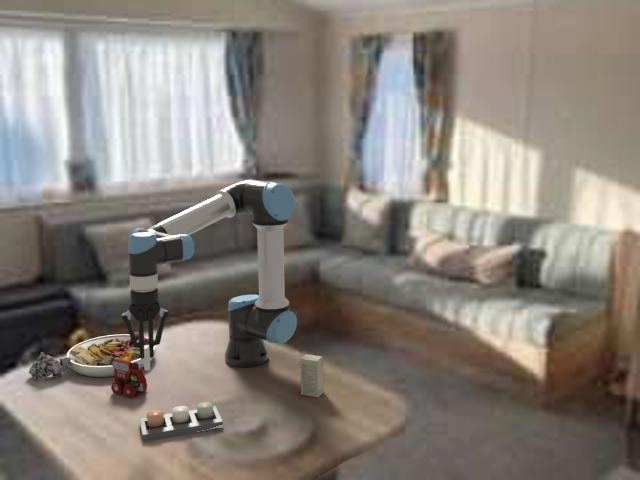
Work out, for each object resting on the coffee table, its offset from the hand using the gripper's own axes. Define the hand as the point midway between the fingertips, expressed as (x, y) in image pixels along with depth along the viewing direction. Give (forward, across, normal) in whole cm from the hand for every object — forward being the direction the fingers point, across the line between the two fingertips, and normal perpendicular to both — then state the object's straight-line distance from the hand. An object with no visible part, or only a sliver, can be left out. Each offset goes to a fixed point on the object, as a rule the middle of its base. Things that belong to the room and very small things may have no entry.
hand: (147, 368), depth 189 cm
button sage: (+14, -15, +5) cm, 21 cm away
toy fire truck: (+17, +4, -22) cm, 28 cm away
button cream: (+14, -8, +6) cm, 17 cm away
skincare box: (+16, -50, -2) cm, 53 cm away
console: (+16, -8, +6) cm, 19 cm away
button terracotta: (+14, -1, +6) cm, 15 cm away
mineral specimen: (+17, +30, -43) cm, 55 cm away
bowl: (+17, +9, -49) cm, 53 cm away
